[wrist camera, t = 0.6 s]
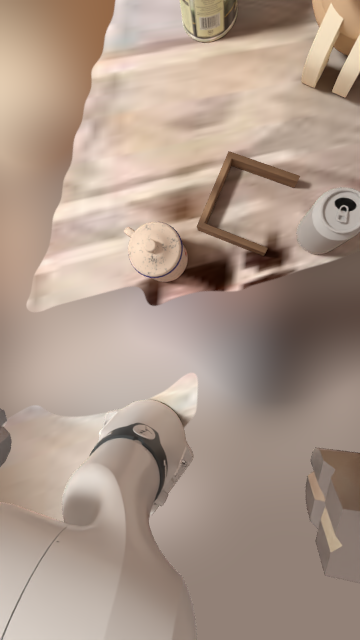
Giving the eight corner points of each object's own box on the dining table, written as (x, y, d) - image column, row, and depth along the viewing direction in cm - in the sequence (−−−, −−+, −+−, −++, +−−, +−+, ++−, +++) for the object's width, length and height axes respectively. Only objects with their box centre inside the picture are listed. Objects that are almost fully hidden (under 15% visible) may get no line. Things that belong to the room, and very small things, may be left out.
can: (346, 219, 51) (383, 190, 39) (331, 260, 51) (363, 244, 39) (303, 207, 52) (326, 175, 40) (289, 248, 52) (307, 228, 40)
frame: (263, 256, 53) (265, 253, 50) (198, 230, 55) (196, 226, 52) (296, 182, 52) (300, 176, 49) (228, 158, 54) (228, 151, 51)
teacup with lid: (198, 253, 55) (191, 237, 43) (170, 292, 56) (156, 287, 44) (148, 218, 56) (129, 193, 45) (122, 257, 57) (96, 242, 46)
